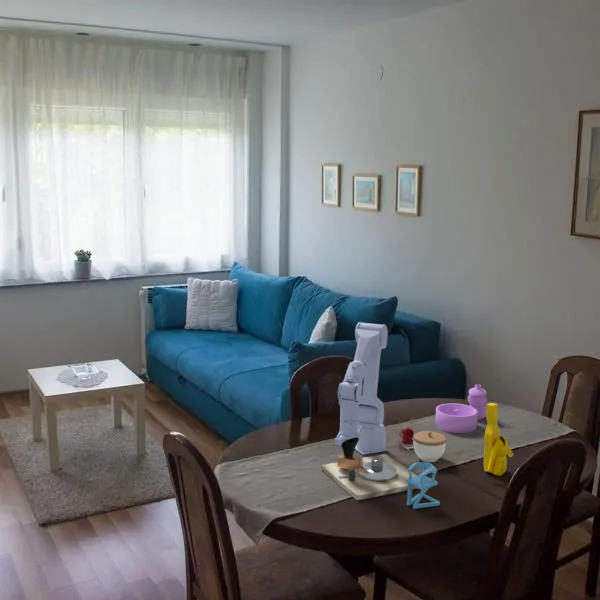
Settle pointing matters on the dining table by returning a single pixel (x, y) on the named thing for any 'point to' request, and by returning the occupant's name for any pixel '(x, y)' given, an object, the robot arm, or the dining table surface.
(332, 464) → the base board
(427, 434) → the lidded jar
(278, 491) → the dining table surface
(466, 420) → the container set
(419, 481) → the blue abstract sculpture
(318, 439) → the dining table surface
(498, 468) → the figure statuette
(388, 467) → the grey and orange-brown pieces
